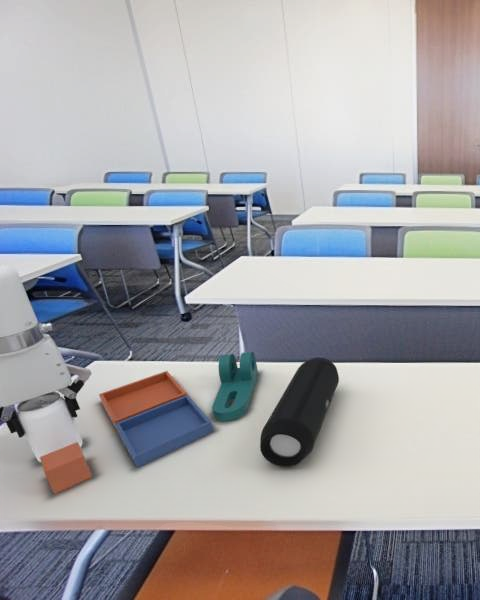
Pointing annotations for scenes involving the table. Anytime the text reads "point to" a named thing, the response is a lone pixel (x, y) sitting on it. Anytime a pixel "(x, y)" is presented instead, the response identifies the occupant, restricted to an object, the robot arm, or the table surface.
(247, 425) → the table surface
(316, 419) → the portable speaker
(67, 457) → the block
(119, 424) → the blue tray
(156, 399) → the terracotta tray
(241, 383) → the bracket
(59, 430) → the can
